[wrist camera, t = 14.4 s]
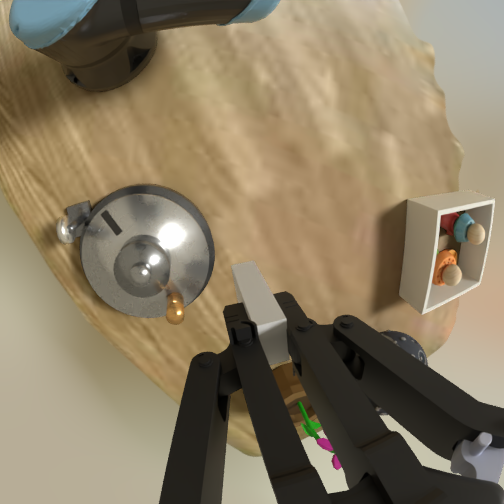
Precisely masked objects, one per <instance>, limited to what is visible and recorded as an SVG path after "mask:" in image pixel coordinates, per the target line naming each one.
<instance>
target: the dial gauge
mask: <svg viewBox="0 0 504 504" xmlns="http://www.w3.org/2000/svg"><path fill="white" fill-rule="evenodd" d="M67 212H68V215H66V216H62V217H59V218H58V220H57V223H56V230H57V235H58V238H59V240H60V241H61V243H62V244H65V245H66V244H69V243H73V242H74V240H75V238H76V237H79V236H81V233H82V229H83V227H84V224H85V222H86V220H87V218H88V216H89V214H90V213H91V212H92V208H91V204H90V200H88V201H85V202H82V203H78V204H75V205H72V206H69V207H67Z"/></svg>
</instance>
